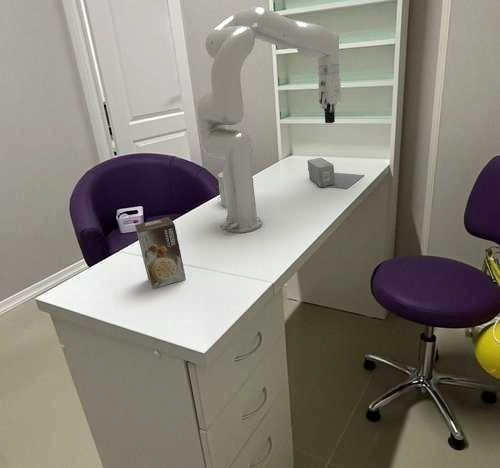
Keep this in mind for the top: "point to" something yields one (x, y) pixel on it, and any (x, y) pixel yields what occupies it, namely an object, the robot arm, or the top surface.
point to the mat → (344, 180)
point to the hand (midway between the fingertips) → (329, 122)
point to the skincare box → (321, 172)
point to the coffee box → (160, 252)
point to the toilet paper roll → (221, 189)
